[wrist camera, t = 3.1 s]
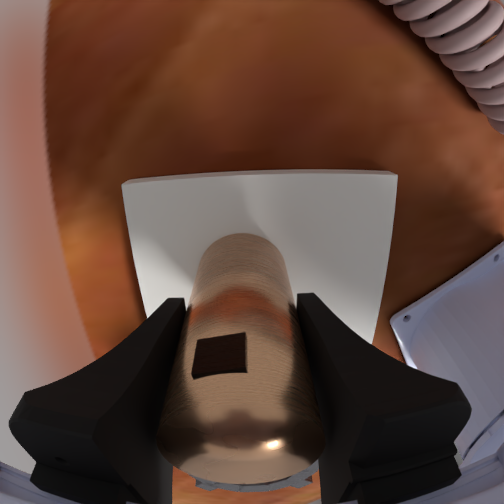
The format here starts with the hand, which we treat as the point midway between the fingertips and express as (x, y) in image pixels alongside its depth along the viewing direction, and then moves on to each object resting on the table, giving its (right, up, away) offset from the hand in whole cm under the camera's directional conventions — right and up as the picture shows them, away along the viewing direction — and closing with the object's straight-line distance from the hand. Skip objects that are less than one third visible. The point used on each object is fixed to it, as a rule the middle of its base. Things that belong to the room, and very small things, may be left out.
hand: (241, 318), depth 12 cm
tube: (0, +1, +3) cm, 3 cm away
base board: (+1, -3, +6) cm, 7 cm away
